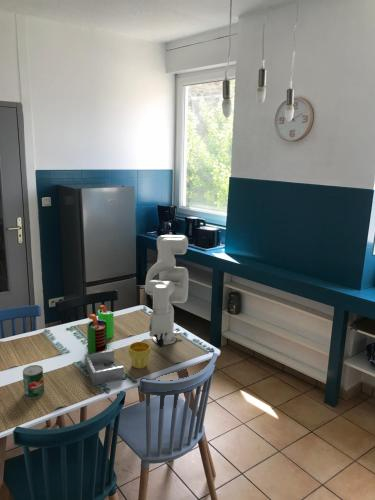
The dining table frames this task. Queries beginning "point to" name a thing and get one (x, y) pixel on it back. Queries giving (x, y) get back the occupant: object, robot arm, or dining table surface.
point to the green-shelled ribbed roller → (109, 318)
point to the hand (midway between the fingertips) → (160, 346)
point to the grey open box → (105, 374)
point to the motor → (96, 335)
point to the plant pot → (139, 354)
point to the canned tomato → (33, 381)
